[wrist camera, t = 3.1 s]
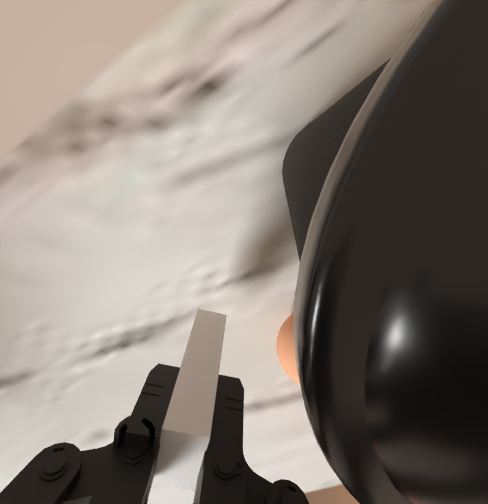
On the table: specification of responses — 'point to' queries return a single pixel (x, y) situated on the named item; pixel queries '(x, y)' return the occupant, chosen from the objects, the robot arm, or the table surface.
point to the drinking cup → (399, 268)
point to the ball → (287, 349)
